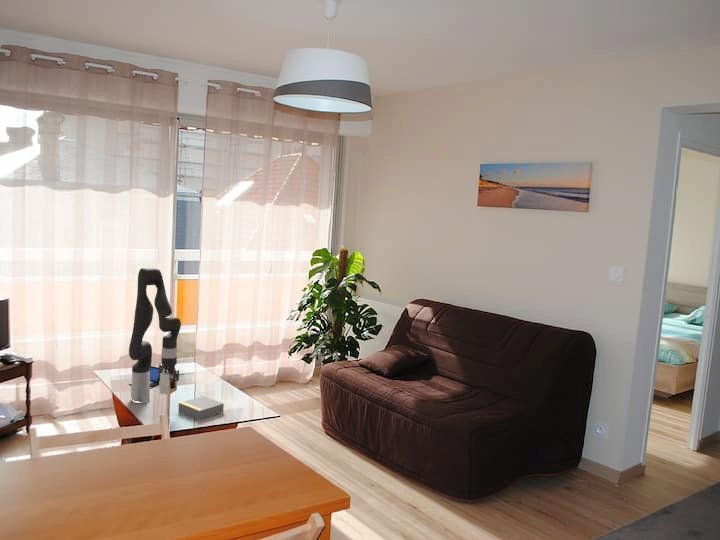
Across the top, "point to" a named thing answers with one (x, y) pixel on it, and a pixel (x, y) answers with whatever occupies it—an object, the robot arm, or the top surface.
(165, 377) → the small box
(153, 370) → the laptop
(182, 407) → the loading dock
